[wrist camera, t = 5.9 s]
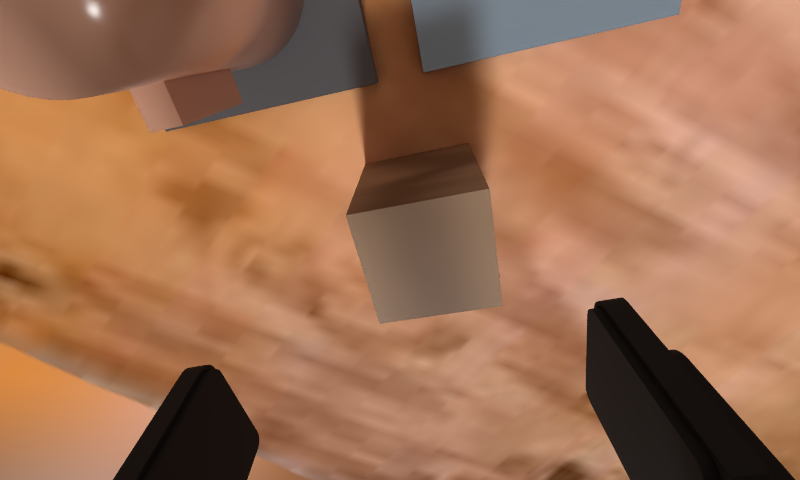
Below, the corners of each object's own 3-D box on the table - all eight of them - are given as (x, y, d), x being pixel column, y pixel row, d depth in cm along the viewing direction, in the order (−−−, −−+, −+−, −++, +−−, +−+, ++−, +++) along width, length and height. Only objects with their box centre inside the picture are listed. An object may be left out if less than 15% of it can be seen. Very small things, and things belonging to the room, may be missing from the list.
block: (467, 142, 18) (489, 188, 13) (479, 234, 20) (502, 305, 15) (365, 163, 19) (345, 215, 13) (388, 250, 21) (379, 323, 16)
